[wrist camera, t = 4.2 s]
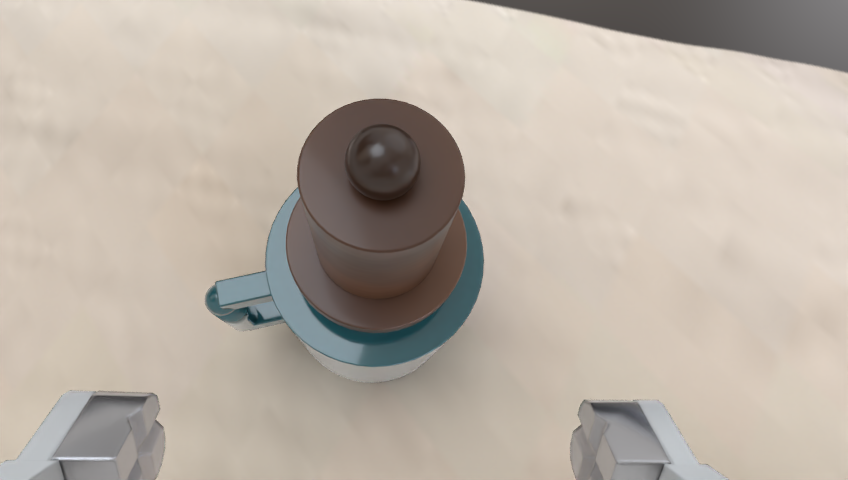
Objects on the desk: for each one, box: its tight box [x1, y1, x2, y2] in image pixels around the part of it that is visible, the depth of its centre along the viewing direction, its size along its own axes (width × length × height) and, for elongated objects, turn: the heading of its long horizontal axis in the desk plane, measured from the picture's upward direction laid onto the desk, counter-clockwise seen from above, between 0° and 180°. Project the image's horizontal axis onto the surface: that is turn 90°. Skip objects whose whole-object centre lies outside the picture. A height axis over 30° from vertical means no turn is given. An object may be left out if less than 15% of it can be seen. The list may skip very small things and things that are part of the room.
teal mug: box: [205, 188, 484, 383], centre depth 28 cm, size 12×9×12 cm
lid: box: [286, 99, 467, 333], centre depth 18 cm, size 7×7×9 cm
